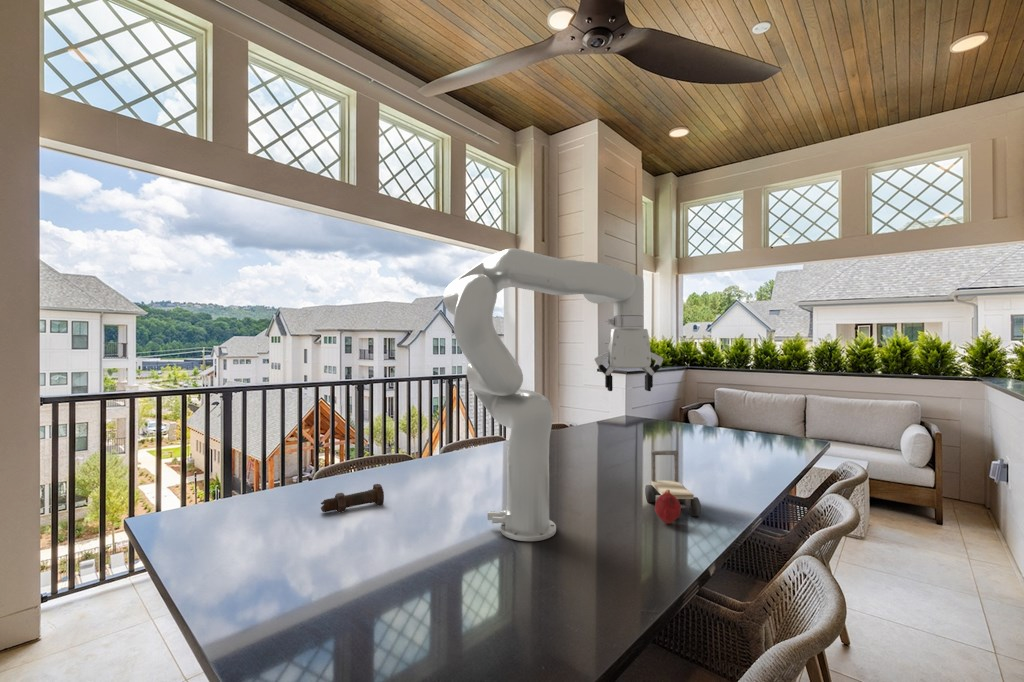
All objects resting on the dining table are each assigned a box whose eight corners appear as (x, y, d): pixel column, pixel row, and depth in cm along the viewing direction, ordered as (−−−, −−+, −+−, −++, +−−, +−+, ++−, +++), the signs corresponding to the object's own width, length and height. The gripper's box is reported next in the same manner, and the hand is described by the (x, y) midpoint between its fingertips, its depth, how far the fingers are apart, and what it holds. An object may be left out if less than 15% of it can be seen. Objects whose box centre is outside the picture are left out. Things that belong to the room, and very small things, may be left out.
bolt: (321, 520, 118) (380, 507, 127) (324, 516, 115) (385, 502, 123) (318, 497, 121) (376, 486, 129) (321, 492, 117) (381, 480, 125)
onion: (684, 528, 108) (684, 493, 108) (659, 528, 108) (659, 493, 108) (676, 519, 114) (676, 486, 114) (652, 519, 114) (652, 486, 114)
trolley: (700, 518, 114) (700, 462, 114) (660, 518, 114) (660, 462, 114) (680, 499, 128) (680, 449, 128) (645, 499, 128) (644, 449, 129)
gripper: (597, 323, 117) (597, 392, 117) (667, 323, 117) (667, 392, 117) (592, 324, 125) (592, 389, 124) (658, 324, 124) (658, 389, 124)
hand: (628, 390), depth 121 cm, fingers open, 9 cm apart
